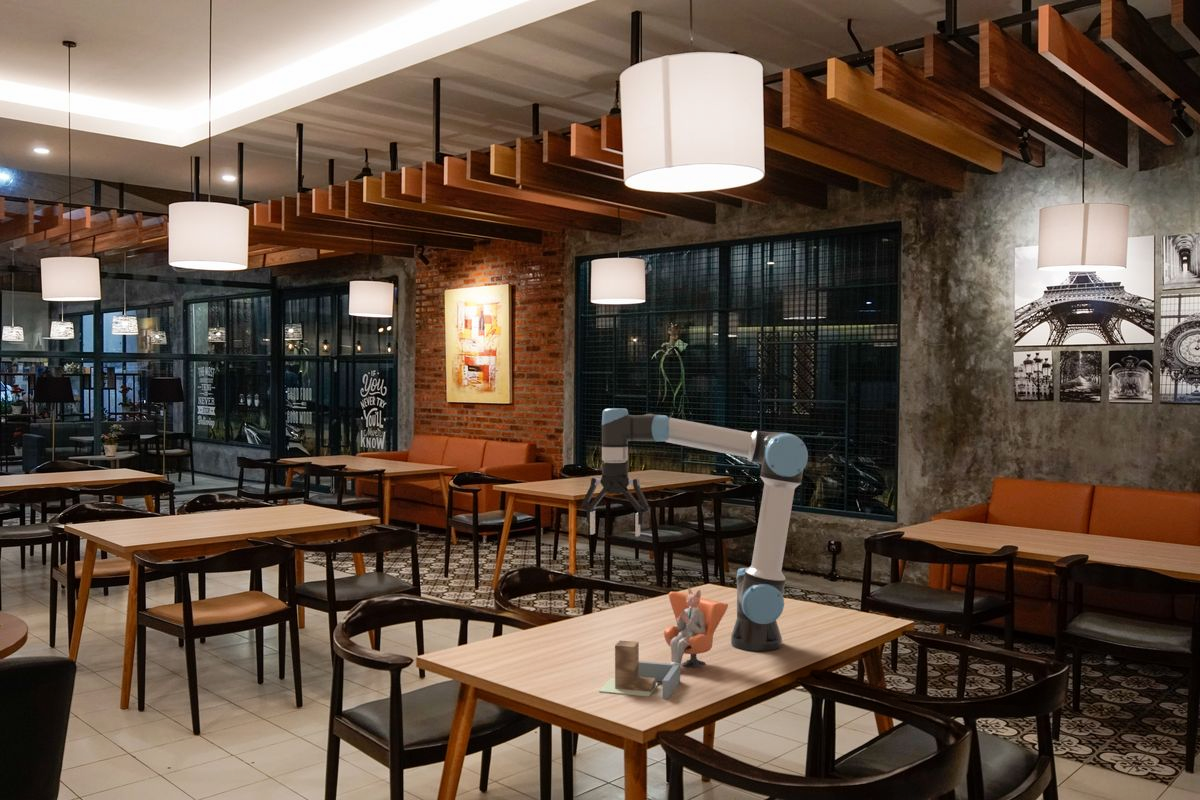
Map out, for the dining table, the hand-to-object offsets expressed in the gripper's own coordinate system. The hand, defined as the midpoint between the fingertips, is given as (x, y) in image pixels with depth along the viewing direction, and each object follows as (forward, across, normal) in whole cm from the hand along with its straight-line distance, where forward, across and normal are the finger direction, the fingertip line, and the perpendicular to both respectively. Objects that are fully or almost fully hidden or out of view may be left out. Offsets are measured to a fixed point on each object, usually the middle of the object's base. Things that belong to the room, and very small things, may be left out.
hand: (615, 535), depth 267 cm
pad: (+35, -12, +28) cm, 46 cm away
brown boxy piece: (+34, -13, +28) cm, 46 cm away
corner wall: (+35, -16, +26) cm, 46 cm away
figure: (+35, -22, +6) cm, 42 cm away
